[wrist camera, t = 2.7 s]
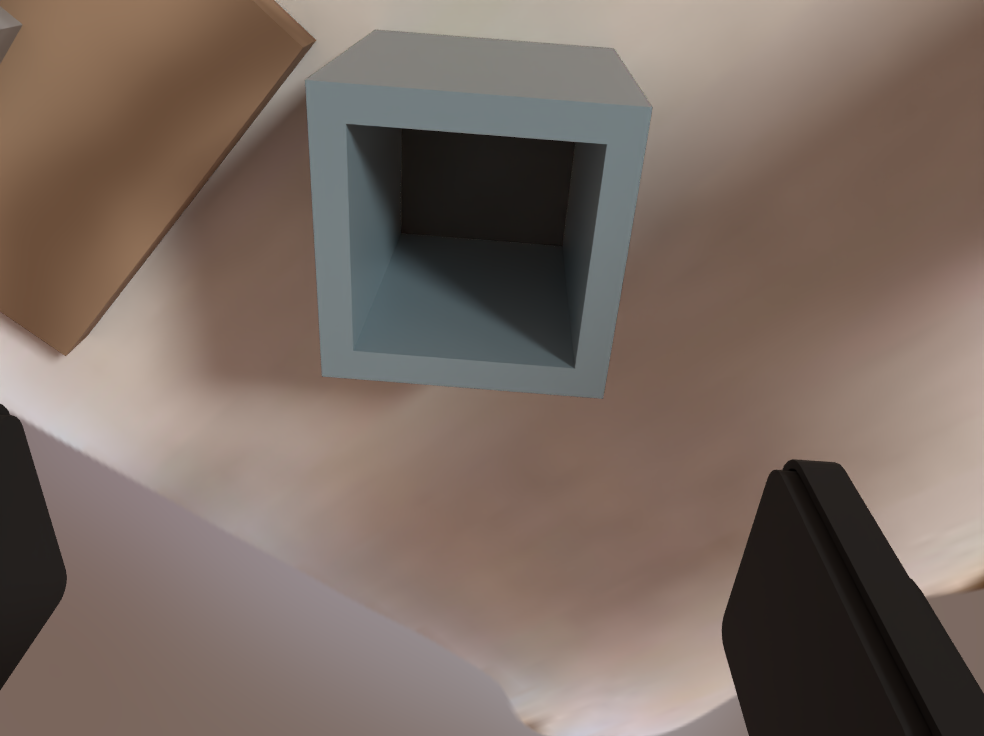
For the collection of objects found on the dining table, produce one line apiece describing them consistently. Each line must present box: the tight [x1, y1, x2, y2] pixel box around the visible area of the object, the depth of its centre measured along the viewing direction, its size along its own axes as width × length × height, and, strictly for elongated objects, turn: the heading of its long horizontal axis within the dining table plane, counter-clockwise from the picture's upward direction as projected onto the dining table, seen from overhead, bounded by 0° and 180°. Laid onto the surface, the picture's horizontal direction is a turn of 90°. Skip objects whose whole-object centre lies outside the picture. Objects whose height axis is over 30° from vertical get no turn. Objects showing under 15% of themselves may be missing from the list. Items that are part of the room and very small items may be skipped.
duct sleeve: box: [305, 30, 653, 399], centre depth 20 cm, size 7×7×8 cm
